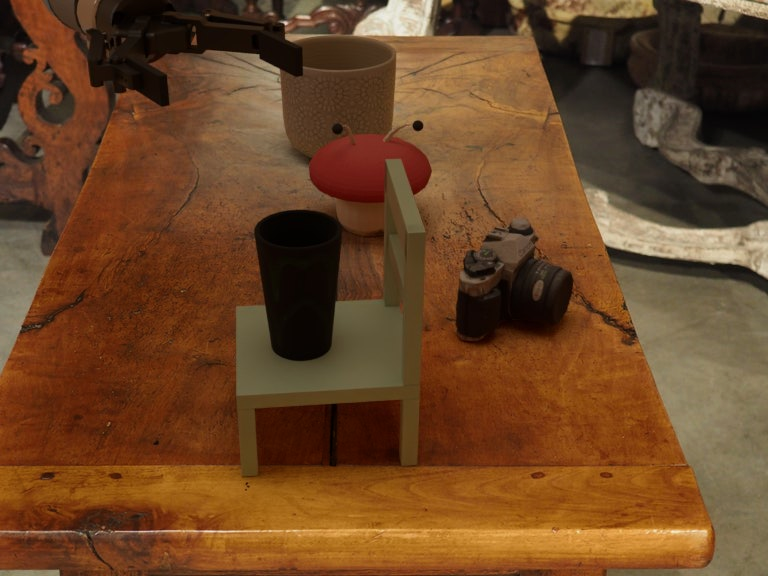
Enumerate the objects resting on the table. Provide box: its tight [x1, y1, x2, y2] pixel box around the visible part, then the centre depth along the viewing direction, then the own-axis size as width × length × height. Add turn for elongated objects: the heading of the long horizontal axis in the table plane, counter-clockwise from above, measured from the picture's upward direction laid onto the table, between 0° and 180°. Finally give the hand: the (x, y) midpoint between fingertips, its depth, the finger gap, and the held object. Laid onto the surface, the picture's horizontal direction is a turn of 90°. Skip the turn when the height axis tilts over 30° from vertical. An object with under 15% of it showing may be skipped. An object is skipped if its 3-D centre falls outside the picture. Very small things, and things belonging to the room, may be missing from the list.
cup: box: [253, 209, 343, 361], centre depth 96 cm, size 8×8×12 cm
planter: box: [279, 34, 397, 159], centre depth 158 cm, size 17×17×15 cm
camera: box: [455, 217, 574, 342], centre depth 118 cm, size 16×10×10 cm, turn 150°
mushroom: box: [308, 119, 433, 237], centre depth 137 cm, size 16×16×15 cm
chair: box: [235, 159, 427, 478], centre depth 98 cm, size 16×15×24 cm
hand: (234, 76), depth 94 cm, fingers open, 13 cm apart
